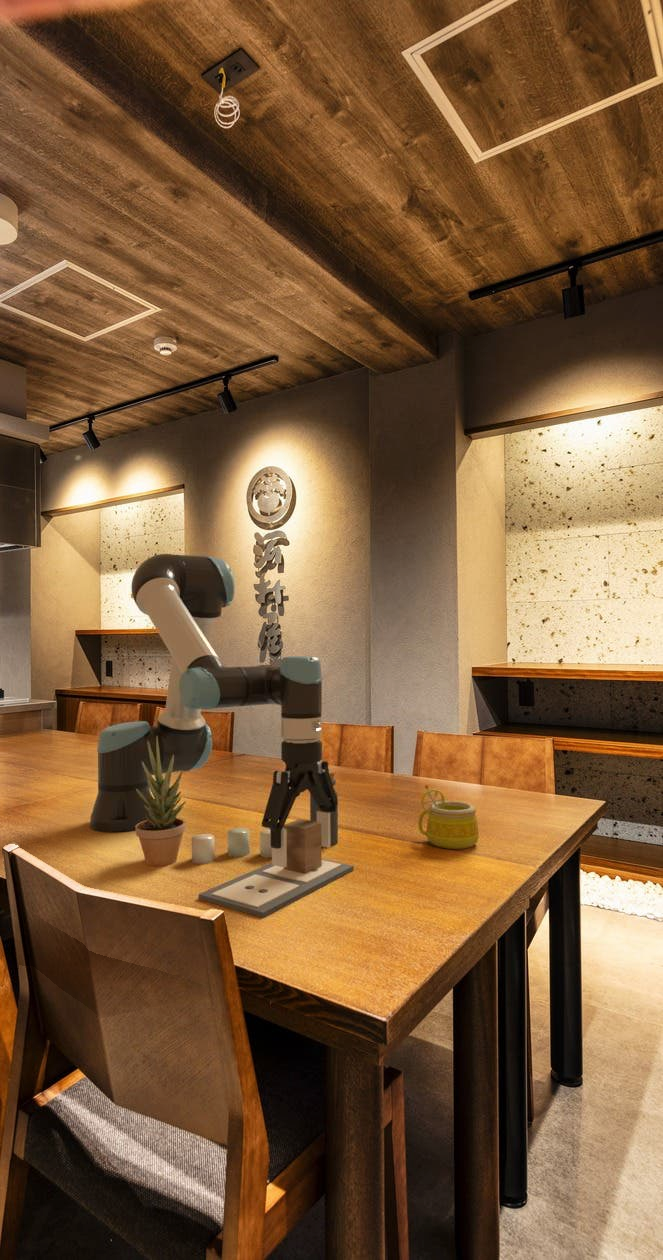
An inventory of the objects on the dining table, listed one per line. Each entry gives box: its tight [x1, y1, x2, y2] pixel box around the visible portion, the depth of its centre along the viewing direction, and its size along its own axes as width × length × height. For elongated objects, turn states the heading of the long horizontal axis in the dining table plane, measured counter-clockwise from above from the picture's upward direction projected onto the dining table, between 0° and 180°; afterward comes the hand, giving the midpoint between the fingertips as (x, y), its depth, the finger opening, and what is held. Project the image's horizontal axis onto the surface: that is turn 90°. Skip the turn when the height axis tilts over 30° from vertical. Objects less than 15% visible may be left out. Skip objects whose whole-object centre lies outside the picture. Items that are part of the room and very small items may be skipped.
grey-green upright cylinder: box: [227, 827, 251, 858], centre depth 137 cm, size 4×4×4 cm
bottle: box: [309, 769, 339, 846], centre depth 144 cm, size 6×6×15 cm
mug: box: [417, 784, 480, 850], centre depth 143 cm, size 13×11×12 cm
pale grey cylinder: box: [191, 833, 215, 865], centre depth 133 cm, size 4×4×4 cm
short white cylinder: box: [259, 828, 272, 859], centre depth 136 cm, size 4×4×4 cm
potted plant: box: [135, 737, 187, 867], centre depth 132 cm, size 10×10×25 cm
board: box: [198, 858, 354, 918], centre depth 119 cm, size 14×26×1 cm, turn 146°
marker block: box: [283, 818, 323, 874], centre depth 125 cm, size 5×5×8 cm
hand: (302, 855), depth 125 cm, fingers open, 13 cm apart
